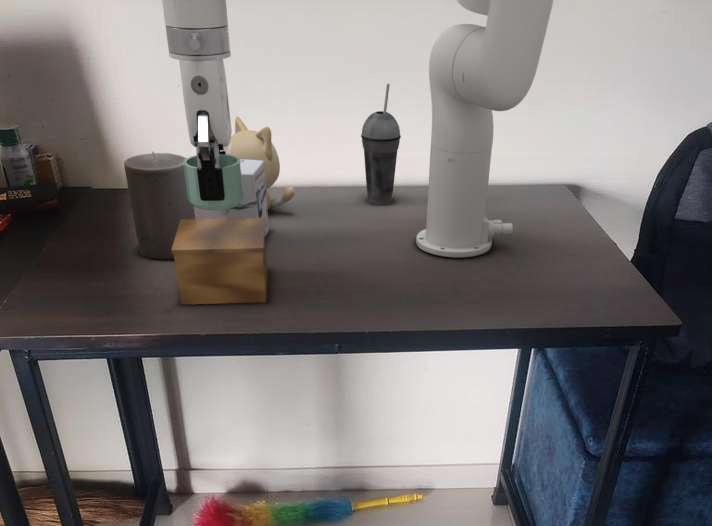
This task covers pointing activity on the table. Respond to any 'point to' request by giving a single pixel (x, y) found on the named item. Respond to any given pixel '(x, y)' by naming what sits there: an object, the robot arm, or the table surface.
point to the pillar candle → (157, 201)
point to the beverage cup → (380, 154)
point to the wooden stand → (221, 260)
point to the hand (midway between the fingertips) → (214, 189)
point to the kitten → (259, 156)
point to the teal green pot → (230, 180)
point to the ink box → (252, 193)
